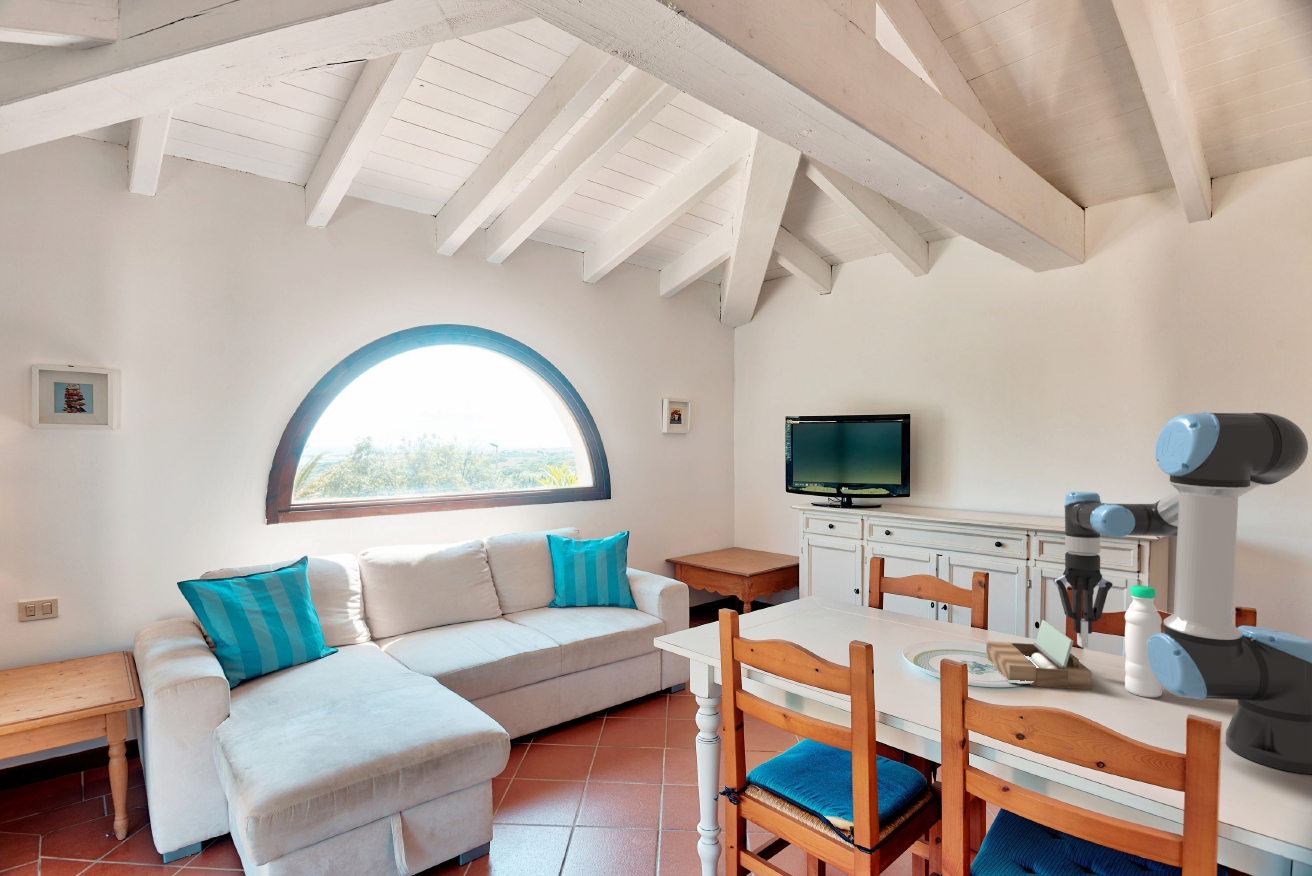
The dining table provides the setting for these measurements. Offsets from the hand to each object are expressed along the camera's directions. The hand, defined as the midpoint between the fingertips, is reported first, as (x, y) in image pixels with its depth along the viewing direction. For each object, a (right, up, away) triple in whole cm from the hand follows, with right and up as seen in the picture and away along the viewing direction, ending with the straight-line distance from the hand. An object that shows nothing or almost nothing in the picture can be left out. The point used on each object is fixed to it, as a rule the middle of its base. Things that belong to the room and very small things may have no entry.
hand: (1082, 645), depth 168 cm
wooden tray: (-11, -8, +2) cm, 13 cm away
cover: (-7, 0, +1) cm, 8 cm away
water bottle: (+7, -8, -12) cm, 16 cm away
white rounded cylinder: (-9, -6, +2) cm, 10 cm away
